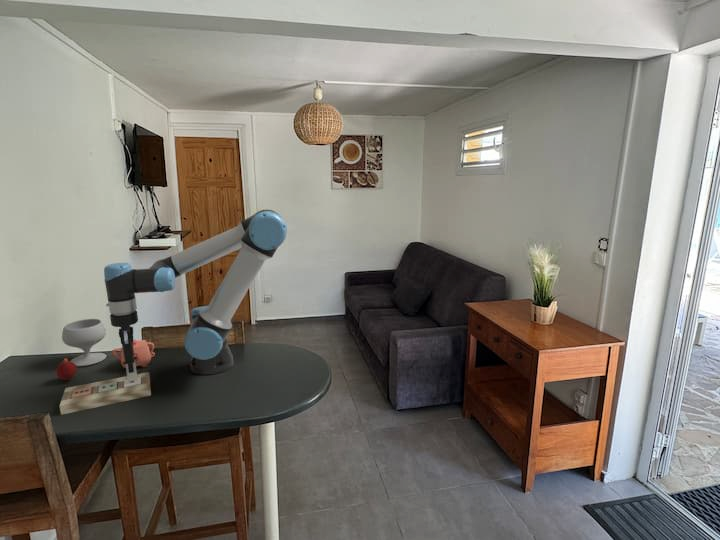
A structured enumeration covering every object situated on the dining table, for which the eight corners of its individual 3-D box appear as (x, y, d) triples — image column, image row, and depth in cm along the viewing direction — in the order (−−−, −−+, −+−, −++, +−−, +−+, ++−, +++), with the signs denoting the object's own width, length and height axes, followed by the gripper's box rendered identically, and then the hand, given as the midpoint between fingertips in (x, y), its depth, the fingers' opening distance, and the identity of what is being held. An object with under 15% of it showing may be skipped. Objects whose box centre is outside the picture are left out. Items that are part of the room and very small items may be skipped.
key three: (93, 395, 133) (91, 386, 132) (91, 402, 128) (90, 393, 128) (74, 398, 130) (73, 389, 130) (72, 406, 126) (71, 396, 125)
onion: (67, 385, 140) (64, 363, 138) (53, 383, 141) (50, 361, 139) (82, 377, 145) (79, 356, 144) (68, 375, 146) (65, 354, 145)
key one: (141, 385, 139) (140, 376, 138) (142, 391, 135) (140, 382, 134) (125, 388, 137) (123, 379, 136) (124, 395, 132) (123, 386, 132)
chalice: (62, 371, 150) (55, 332, 147) (71, 356, 162) (65, 320, 159) (106, 364, 155) (101, 327, 152) (111, 350, 168) (107, 315, 165)
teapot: (137, 374, 148) (134, 349, 146) (112, 369, 151) (108, 345, 149) (161, 360, 159) (159, 337, 156) (137, 356, 162) (134, 333, 160)
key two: (118, 390, 136) (116, 381, 135) (117, 396, 132) (116, 387, 131) (100, 393, 134) (99, 384, 133) (99, 400, 129) (97, 391, 129)
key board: (149, 379, 143) (149, 372, 143) (150, 395, 133) (149, 387, 132) (67, 396, 132) (65, 388, 132) (61, 414, 122) (59, 405, 121)
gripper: (110, 308, 134) (120, 374, 139) (108, 319, 123) (118, 391, 128) (136, 304, 137) (145, 369, 142) (136, 315, 126) (145, 385, 131)
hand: (132, 379), depth 135 cm, fingers closed
